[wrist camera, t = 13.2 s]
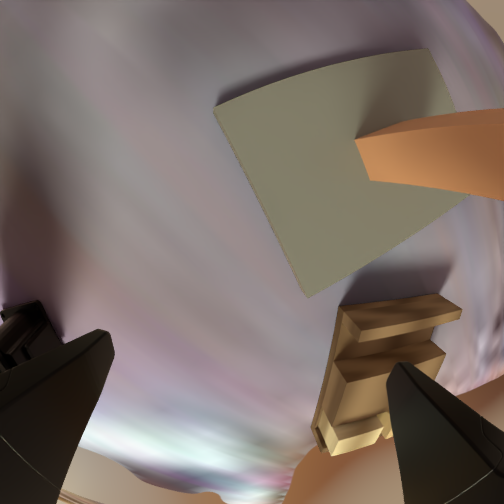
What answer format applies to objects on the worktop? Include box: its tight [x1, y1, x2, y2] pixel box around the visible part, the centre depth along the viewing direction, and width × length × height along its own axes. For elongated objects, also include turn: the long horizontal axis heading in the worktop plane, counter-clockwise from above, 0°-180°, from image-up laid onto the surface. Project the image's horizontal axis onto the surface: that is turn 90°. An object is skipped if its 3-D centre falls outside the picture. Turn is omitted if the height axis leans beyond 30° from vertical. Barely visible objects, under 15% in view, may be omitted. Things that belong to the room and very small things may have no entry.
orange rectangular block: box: [355, 108, 504, 201], centre depth 11 cm, size 5×3×12 cm, turn 116°
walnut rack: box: [311, 293, 462, 453], centre depth 22 cm, size 12×16×4 cm
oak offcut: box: [377, 411, 393, 439], centre depth 23 cm, size 5×3×4 cm, turn 89°
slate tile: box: [213, 48, 470, 298], centre depth 17 cm, size 20×14×2 cm
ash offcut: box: [318, 410, 384, 456], centre depth 22 cm, size 5×3×4 cm, turn 89°
